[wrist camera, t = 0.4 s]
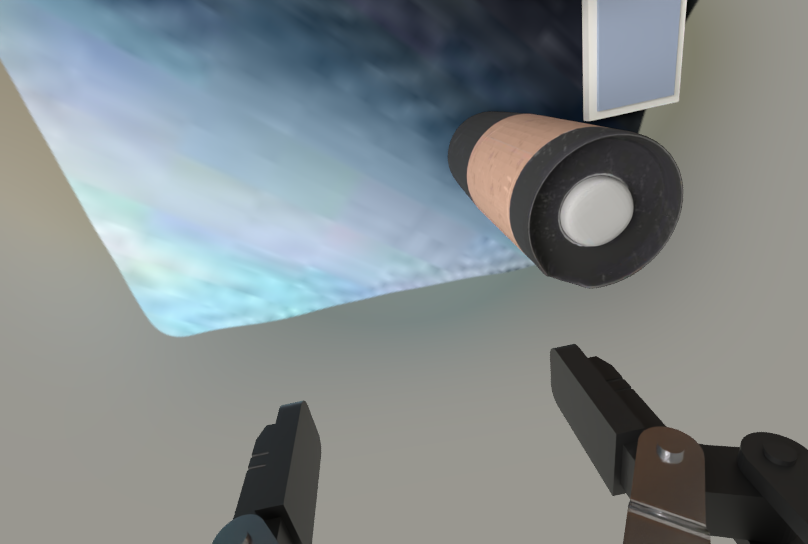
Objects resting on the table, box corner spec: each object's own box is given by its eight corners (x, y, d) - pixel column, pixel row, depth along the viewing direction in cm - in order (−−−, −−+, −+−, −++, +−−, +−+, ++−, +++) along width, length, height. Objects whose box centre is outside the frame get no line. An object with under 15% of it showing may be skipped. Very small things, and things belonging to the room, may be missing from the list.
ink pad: (581, -12, 32) (590, -15, 31) (680, -33, 32) (692, -38, 31) (583, 120, 37) (590, 121, 35) (670, 101, 37) (681, 101, 35)
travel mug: (511, 91, 35) (671, 95, 17) (538, 172, 38) (698, 249, 20) (430, 133, 36) (500, 180, 18) (463, 209, 39) (552, 315, 21)
